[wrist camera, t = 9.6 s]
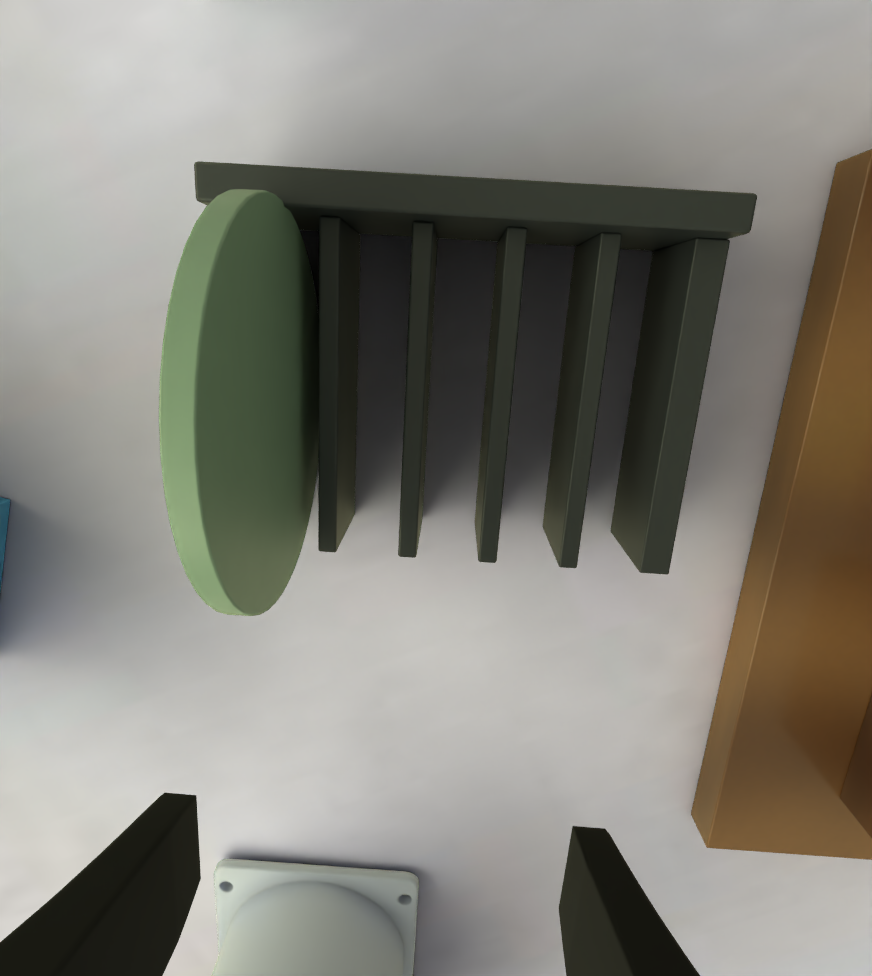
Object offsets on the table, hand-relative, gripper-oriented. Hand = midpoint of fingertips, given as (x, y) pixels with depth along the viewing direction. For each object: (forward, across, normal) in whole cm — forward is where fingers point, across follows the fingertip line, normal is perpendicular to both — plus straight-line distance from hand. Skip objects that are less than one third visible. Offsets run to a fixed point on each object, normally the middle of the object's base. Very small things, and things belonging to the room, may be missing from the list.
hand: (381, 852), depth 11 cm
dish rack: (+9, -1, -8) cm, 12 cm away
